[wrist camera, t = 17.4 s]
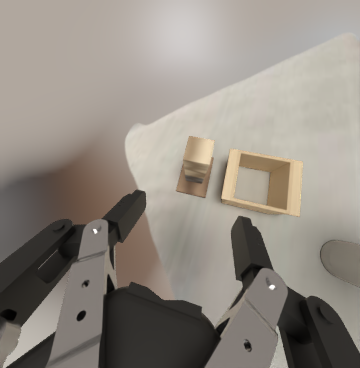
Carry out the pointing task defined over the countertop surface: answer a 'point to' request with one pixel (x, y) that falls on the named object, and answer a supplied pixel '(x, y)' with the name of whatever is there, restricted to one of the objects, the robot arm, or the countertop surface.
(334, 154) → the countertop surface
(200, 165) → the block
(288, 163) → the carton
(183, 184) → the walnut board
